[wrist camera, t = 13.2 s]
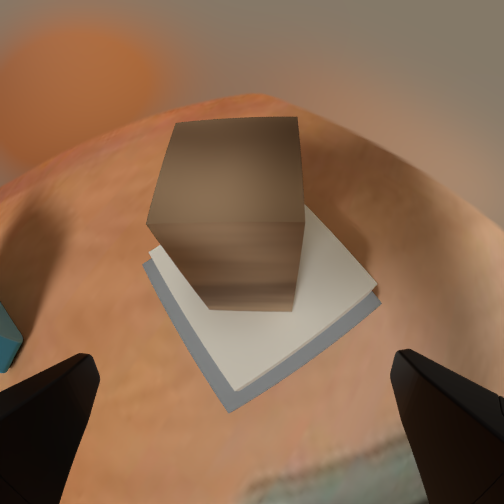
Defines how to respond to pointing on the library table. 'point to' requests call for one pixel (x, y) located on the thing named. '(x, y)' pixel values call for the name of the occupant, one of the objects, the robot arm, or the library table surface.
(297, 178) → the walnut block
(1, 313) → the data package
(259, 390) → the tower base slab
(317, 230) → the tower top slab
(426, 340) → the library table surface
